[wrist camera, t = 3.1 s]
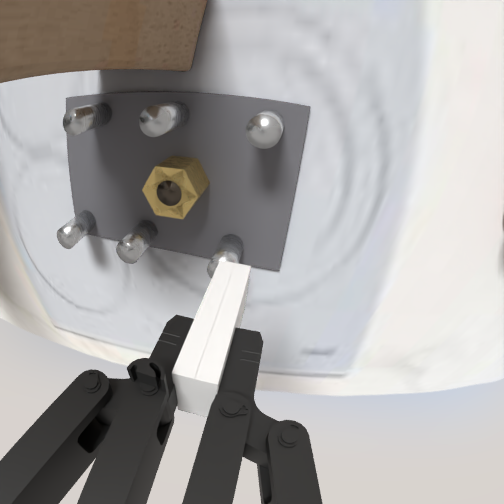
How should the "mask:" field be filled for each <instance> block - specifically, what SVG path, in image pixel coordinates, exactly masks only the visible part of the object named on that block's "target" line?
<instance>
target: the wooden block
mask: <svg viewBox="0 0 504 504" xmlns="http://www.w3.org/2000/svg"><path fill="white" fill-rule="evenodd" d="M206 3H207V0H0V83H3V82H7V81H12V80H17V79H23V78H28V77H34V76H41V75H48V74H56V73H65V72H75V71H88V70H109V69H149V70H171V71H188V70H190V68H191V66H192V61H193V57H194V52H195V48H196V43H197V39H198V35H199V31H200V27H201V23H202V19H203V15H204V11H205V7H206Z"/></svg>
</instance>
